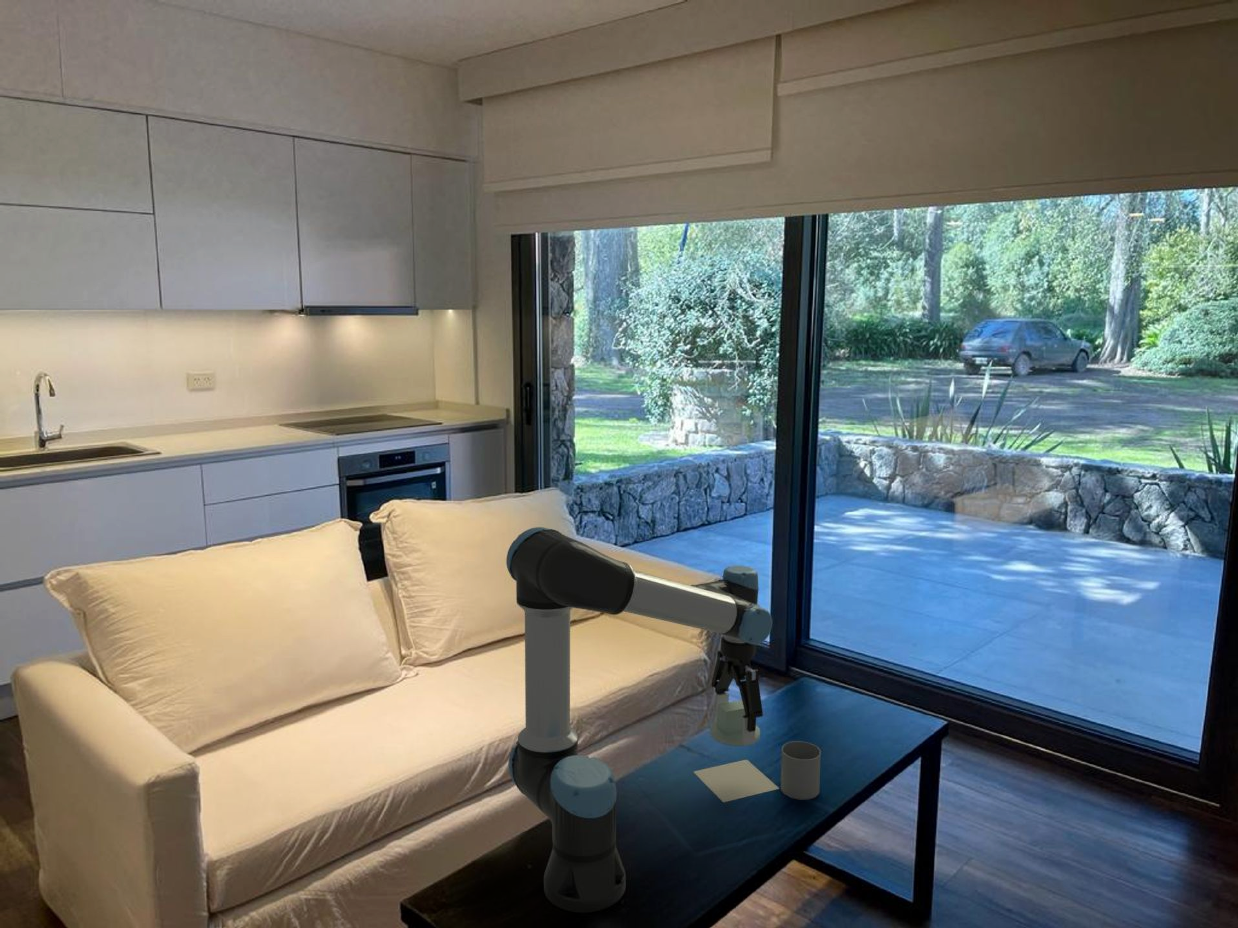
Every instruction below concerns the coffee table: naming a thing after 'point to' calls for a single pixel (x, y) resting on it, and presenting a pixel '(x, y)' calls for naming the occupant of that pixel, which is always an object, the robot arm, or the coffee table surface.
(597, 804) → the robot arm
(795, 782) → the cup
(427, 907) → the coffee table surface
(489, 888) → the coffee table surface
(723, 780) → the mat
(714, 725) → the lid
